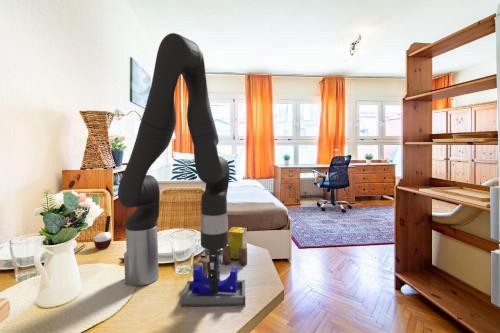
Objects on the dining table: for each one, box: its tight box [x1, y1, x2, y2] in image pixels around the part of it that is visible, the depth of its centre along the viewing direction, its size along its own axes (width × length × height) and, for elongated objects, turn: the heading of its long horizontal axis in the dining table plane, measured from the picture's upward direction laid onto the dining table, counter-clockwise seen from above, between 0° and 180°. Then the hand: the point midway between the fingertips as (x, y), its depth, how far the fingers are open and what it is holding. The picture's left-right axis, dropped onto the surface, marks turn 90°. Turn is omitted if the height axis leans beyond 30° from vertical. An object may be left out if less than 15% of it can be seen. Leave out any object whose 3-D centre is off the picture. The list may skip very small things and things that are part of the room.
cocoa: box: [93, 215, 112, 250], centre depth 113 cm, size 10×6×12 cm, turn 152°
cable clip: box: [192, 265, 238, 295], centre depth 77 cm, size 12×4×6 cm, turn 83°
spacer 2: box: [197, 257, 208, 277], centre depth 88 cm, size 3×3×6 cm
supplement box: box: [227, 226, 248, 262], centre depth 103 cm, size 6×6×11 cm
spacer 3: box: [204, 248, 208, 262], centre depth 97 cm, size 3×3×6 cm
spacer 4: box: [221, 245, 232, 266], centre depth 98 cm, size 3×3×6 cm
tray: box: [180, 279, 246, 308], centre depth 77 cm, size 17×9×2 cm, turn 92°
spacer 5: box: [238, 246, 248, 267], centre depth 98 cm, size 3×3×6 cm
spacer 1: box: [192, 261, 203, 271], centre depth 85 cm, size 3×3×6 cm
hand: (215, 287), depth 77 cm, fingers closed on cable clip, 4 cm apart
